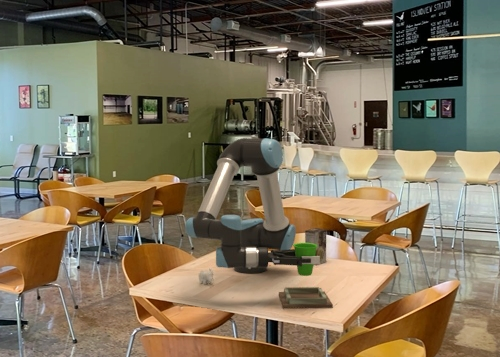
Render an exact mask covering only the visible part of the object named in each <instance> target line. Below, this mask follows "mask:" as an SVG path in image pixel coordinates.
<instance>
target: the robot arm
mask: <svg viewBox="0 0 500 357" xmlns="http://www.w3.org/2000/svg"><path fill="white" fill-rule="evenodd" d="M283 157H284V153H283V149H282V145H281V144H280V142H279V141H278V140H276V139H273V138H268V137H266V138H247V137H243V138H239V139H236V140H234V141H232V142H231V143H229V144H228V146H226V148H224V149H223V151H222V152H221V153H220V155H219V157H218V159H217V161H216V165H217V168H216V170H215V172H214V174H213V176H212V180H211V181H210V184H209V186H208V189H207V190H206V192H205V194H204V198H203V199H202V202H201V204H200V206H199V208H198V211H197V213H196V215H195V217H193V216H192V217H189V218H188V219H187V220H186V221H185V226H184V228H185V231H184V232H185V234H186V235H187V236H188V237H190V238H196V239H206V240H207V239H208V240H216V241H220V246H219V247H216V249H215V266H216V267H217V268H227V269H232V268H233V270H234V271H235V272H238V273H241V274H242V273H243V274H258V273H263V272H266V271H267V270H268V267H269V263H273V265H274V266H278V265H279V266H280V265H281V266H295V267H297V266H302V264H318V265H321V264H320V256H302V257H296V255H295V248H293V247H294V246H293V245H294V244H295V243H294V242H295V239H296V233H297V232H296V230H297V229H296V225H294V224H290V219H289V218H288V217H287V216H286V215H285V212H284V211H285V210H284V205H283V199H282V194H281V186H280V183H279V176H278V171H279V170H280V167H281V166H282V165H283V161H284V158H283ZM242 167H250V168H251V171H252V174H253V175H255V176H256V178H257V183H258V185H257V186H258V188H259V190H258V191H259V193H260V198H261V203H262V209H263V210H262V211H263V213H264V214H263V215H264V219H263V218H259V217H258V218H257V217H256V218H248V219H243V220H242V218H241V216H240V215H238V214H225V215H222V216H221V218H220V219H217V217H218V215H219V213H220V210H221V207H222V205H223V204H224V201H225V199H226V196H227V194H228V191H229V190H230V186H231V184H232V181H233V179H234V176H235V175H236V174H237V173H238V172H239V171H240V169H241V168H242ZM292 248H293V249H292ZM269 250H270V252H269Z"/></svg>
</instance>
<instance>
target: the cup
mask: <svg viewBox="0 0 500 357" xmlns="http://www.w3.org/2000/svg"><path fill="white" fill-rule="evenodd" d="M292 247H294V248H293V249H295V255H296V257H302V256H315V254H316V248H317V247H318V246H317V245H316V244H312V243H305V242H298V243H297V242H296V243H293V246H292ZM314 266H315V265H314V264H302V266H296V267H297V273H298V275H299V276H301V277H309V276H312V274H313V269H314Z"/></svg>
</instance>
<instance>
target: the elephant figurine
mask: <svg viewBox="0 0 500 357" xmlns="http://www.w3.org/2000/svg"><path fill="white" fill-rule="evenodd" d="M198 281H199V283H200V284H202V285H207V284H211V283H212V282H213V281H214V271H213V270H212V268H209V269H207V270H200V271H199V273H198Z"/></svg>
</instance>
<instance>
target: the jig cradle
mask: <svg viewBox="0 0 500 357" xmlns="http://www.w3.org/2000/svg"><path fill="white" fill-rule="evenodd" d="M278 296H279V300H280V302H281V305H282V308H283V309H331V308H333V307H334V305H333V303H332V301H331V299H330V298H329V297H328V295H327V293H326V291H324V290H323V289H322V287H319V286H310V287H309V286H307V287H305V286H303V287H299V286H298V287H297V286H293V287H290V286H289V287H283V291H278Z"/></svg>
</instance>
